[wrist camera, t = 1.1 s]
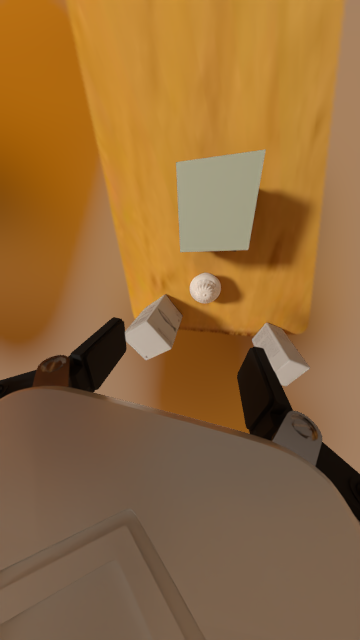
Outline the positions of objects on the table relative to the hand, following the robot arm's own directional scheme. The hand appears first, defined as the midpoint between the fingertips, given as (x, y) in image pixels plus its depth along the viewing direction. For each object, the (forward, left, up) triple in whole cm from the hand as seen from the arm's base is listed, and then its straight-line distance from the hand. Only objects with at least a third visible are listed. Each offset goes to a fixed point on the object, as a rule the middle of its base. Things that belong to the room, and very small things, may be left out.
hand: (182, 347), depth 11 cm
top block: (-9, 0, -19) cm, 22 cm away
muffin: (+3, +1, -24) cm, 25 cm away
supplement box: (+12, -8, -24) cm, 28 cm away
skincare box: (+13, +18, -24) cm, 33 cm away
